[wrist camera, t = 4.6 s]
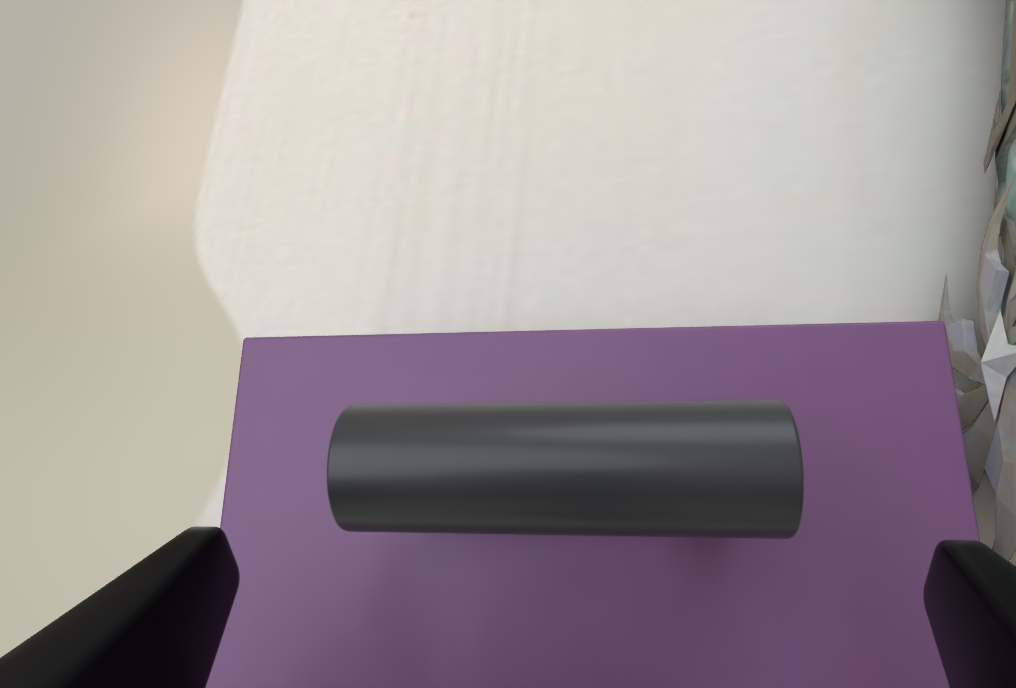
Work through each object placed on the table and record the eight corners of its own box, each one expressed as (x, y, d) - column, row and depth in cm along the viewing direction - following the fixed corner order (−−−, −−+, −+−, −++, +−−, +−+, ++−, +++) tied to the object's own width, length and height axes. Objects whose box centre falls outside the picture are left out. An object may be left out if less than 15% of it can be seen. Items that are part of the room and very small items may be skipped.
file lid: (260, 346, 15) (102, 259, 10) (927, 332, 13) (1103, 216, 9) (195, 907, 12) (-63, 1135, 8) (1026, 988, 11) (1368, 1357, 6)
